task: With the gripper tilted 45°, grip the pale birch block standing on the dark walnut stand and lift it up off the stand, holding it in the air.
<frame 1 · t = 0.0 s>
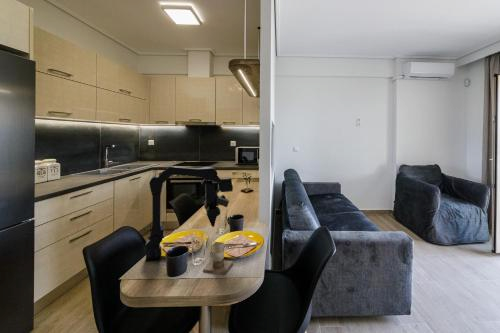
hand: (212, 223, 134), 14 cm above the table, tool pointing down, fingers open, 9 cm apart
birch block: (218, 258, 119), point 4 cm above the table, touching walnut stand
walnut stand: (218, 267, 120), on the table
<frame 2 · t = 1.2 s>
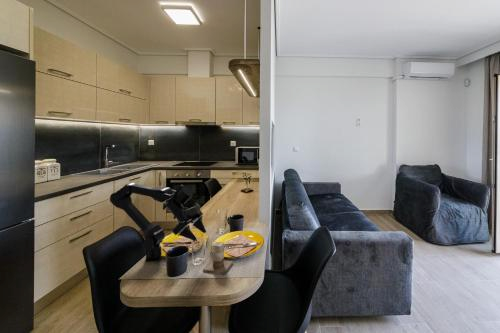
hand: (201, 236, 120), 14 cm above the table, tool tilted 45°, fingers open, 9 cm apart
nothing on the table moved.
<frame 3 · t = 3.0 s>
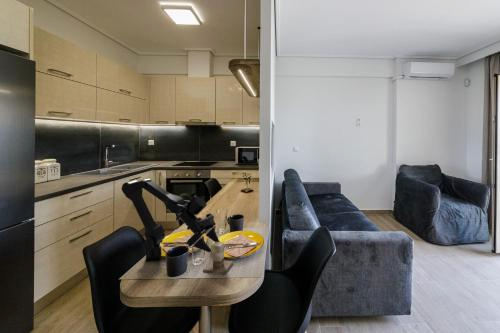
hand: (215, 247, 119), 9 cm above the table, tool tilted 45°, fingers open, 9 cm apart
nothing on the table moved.
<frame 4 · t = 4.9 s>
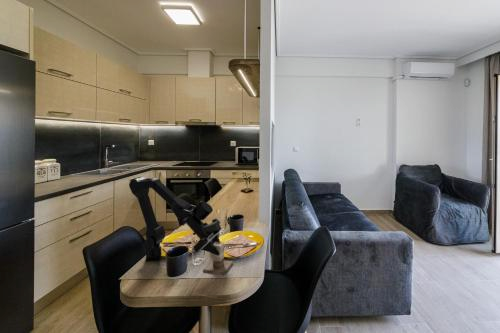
hand: (220, 252, 118), 7 cm above the table, tool tilted 45°, fingers closed on birch block, 4 cm apart
birch block: (218, 258, 119), point 4 cm above the table, touching gripper, walnut stand
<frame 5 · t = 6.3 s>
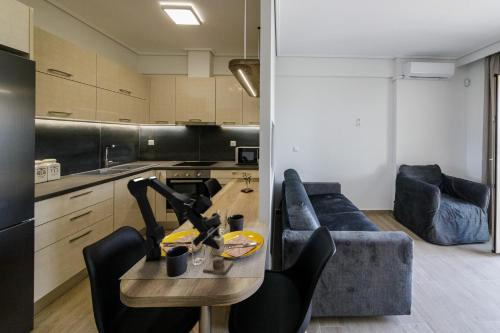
hand: (220, 246, 118), 10 cm above the table, tool tilted 45°, fingers closed on birch block, 4 cm apart
birch block: (218, 253, 119), point 7 cm above the table, touching gripper
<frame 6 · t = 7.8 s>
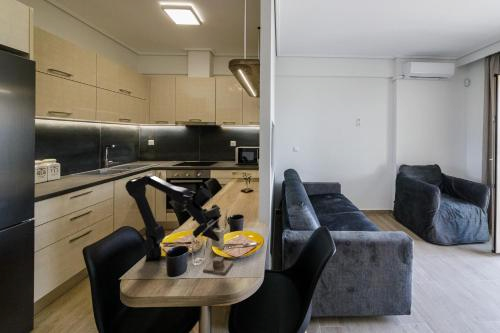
hand: (220, 238, 118), 14 cm above the table, tool tilted 45°, fingers closed on birch block, 4 cm apart
birch block: (217, 245, 118), point 10 cm above the table, touching gripper
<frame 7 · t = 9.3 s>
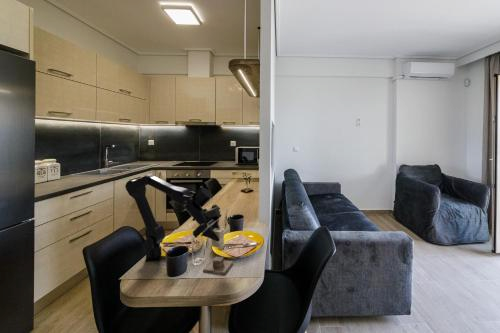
hand: (220, 238, 118), 14 cm above the table, tool tilted 45°, fingers closed on birch block, 4 cm apart
birch block: (217, 245, 118), point 10 cm above the table, touching gripper
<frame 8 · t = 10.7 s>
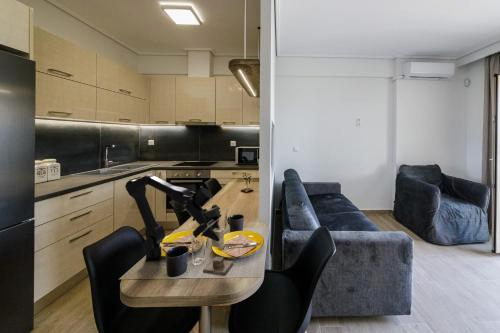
hand: (220, 238, 118), 14 cm above the table, tool tilted 45°, fingers closed on birch block, 4 cm apart
birch block: (217, 245, 118), point 10 cm above the table, touching gripper
at the end: birch block point 10.4 cm above the table; birch block touching gripper; the gripper is holding birch block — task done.
